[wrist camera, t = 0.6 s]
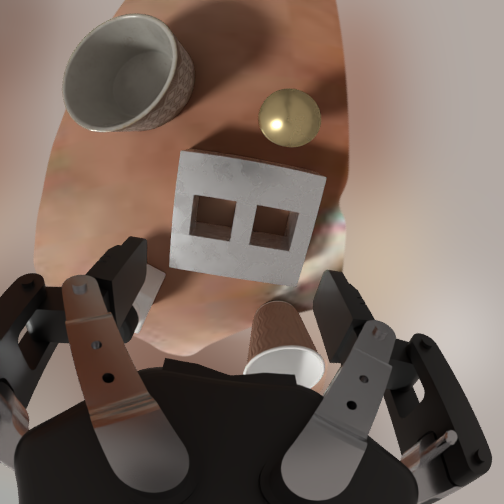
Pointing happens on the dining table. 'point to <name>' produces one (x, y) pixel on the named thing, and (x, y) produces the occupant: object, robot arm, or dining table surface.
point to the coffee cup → (283, 345)
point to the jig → (243, 217)
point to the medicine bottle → (142, 304)
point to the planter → (127, 76)
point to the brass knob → (289, 118)
